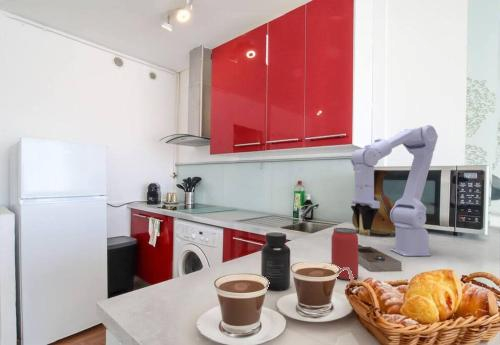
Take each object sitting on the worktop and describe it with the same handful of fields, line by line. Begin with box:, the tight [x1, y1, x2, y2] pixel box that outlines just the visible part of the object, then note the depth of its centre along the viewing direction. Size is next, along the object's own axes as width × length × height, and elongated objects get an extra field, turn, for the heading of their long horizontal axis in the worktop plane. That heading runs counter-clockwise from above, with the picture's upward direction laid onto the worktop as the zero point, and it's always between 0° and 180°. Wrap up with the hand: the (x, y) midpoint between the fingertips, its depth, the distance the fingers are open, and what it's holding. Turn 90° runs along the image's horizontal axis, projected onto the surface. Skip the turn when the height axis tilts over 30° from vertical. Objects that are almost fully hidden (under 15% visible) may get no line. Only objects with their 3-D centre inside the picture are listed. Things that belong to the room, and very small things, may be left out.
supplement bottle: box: [260, 231, 291, 292], centre depth 63 cm, size 7×7×12 cm
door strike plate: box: [358, 244, 403, 272], centre depth 85 cm, size 24×9×3 cm, turn 4°
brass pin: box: [358, 211, 371, 237], centre depth 86 cm, size 3×3×8 cm
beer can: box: [331, 227, 359, 281], centre depth 70 cm, size 7×7×12 cm
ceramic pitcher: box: [352, 169, 396, 236], centre depth 125 cm, size 20×20×30 cm
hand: (364, 228), depth 86 cm, fingers closed on brass pin, 3 cm apart
